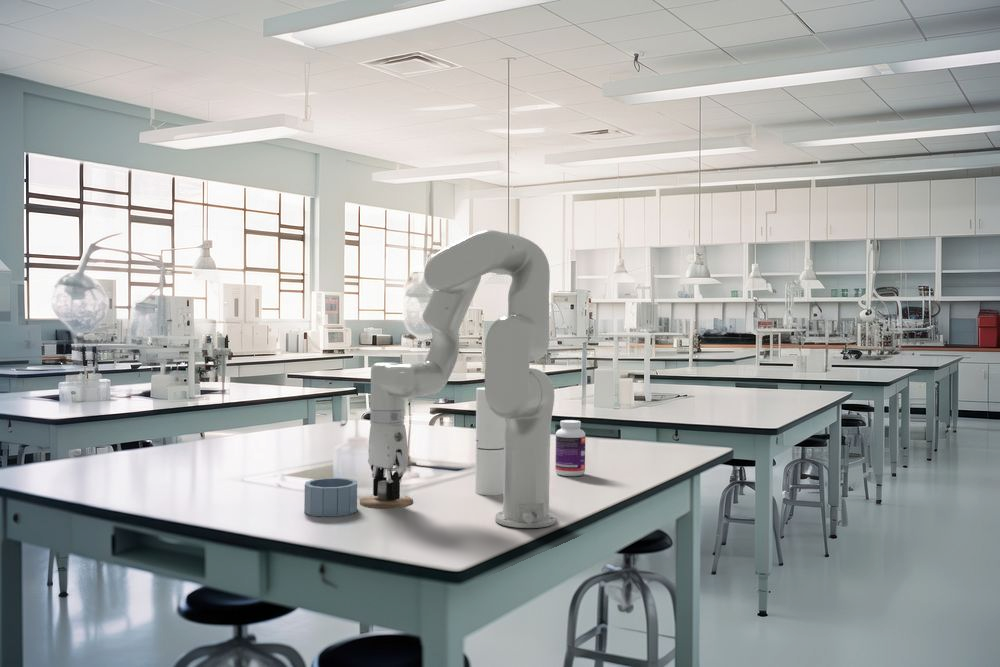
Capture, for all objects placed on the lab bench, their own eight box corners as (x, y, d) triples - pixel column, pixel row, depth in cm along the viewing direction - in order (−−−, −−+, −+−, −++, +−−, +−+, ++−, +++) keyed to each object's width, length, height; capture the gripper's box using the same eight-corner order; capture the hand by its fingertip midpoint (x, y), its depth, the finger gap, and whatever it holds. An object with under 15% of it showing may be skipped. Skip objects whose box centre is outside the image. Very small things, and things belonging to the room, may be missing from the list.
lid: (413, 509, 180) (413, 487, 180) (357, 508, 179) (358, 486, 179) (412, 497, 192) (413, 477, 192) (360, 497, 191) (361, 476, 191)
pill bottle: (586, 477, 218) (587, 423, 217) (556, 477, 218) (557, 423, 217) (583, 471, 226) (584, 419, 225) (554, 471, 226) (554, 419, 225)
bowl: (356, 516, 172) (357, 487, 172) (303, 517, 171) (303, 488, 170) (357, 504, 183) (357, 477, 183) (306, 505, 181) (306, 478, 181)
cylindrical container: (498, 488, 202) (499, 387, 202) (509, 494, 196) (510, 389, 195) (471, 490, 200) (472, 387, 199) (481, 496, 193) (482, 390, 193)
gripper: (422, 420, 181) (421, 502, 182) (381, 412, 194) (380, 489, 195) (393, 422, 176) (392, 506, 177) (353, 414, 190) (352, 493, 190)
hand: (386, 496), depth 186 cm, fingers open, 4 cm apart
